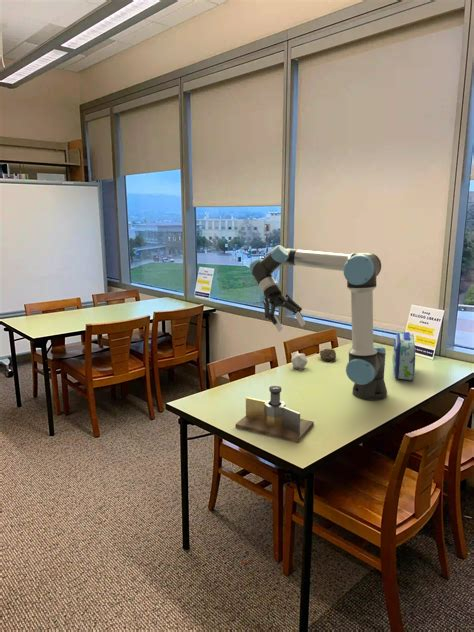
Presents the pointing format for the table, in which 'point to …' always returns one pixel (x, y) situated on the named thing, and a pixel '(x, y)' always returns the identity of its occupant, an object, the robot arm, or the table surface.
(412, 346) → the lunch box
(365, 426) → the table surface
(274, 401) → the hinge pin
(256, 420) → the hinge base
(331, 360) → the concrete sample
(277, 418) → the hinge
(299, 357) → the die
